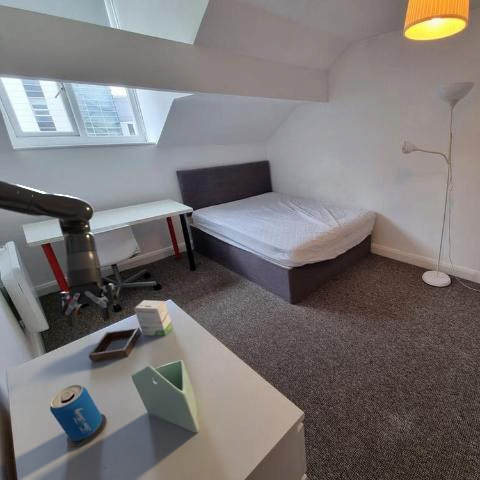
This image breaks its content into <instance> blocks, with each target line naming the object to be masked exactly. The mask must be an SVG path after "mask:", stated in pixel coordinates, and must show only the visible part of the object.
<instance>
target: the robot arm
mask: <svg viewBox="0 0 480 480" xmlns="http://www.w3.org/2000/svg"><path fill="white" fill-rule="evenodd" d="M0 210H4V211H8V212H12V213H16V214H22V215H27V216H30V217H50V218H55V219H58V224H59V228H60V232H61V235H62V238H63V249H64V266H65V271H66V272H65V273H66V282H67V286H68V288H69V291H62V292H57V293H56V305H57V314H58V315H61V314H62V315H66V319H67V325H68V327H70V328H71V329H72V328H77V327H79V325H80V324H79V323H80V322H79V317H78V313H77V311H78V310H79V309H80V307H81V306H82V305H85V304H91V303H95V304H98V305H99V306H100V307H101V311H102V319H103V322H109V321H111V320H112V318H113V310H112V307H113V306H114V305H115V304H118V303H119V298H118V293H117V288H116V284H115V283H108V284H106V285H103V276H102V269H101V262H100V257H99V254H98V249H97V243H96V238H95V235H94V234H93V233H92V231H91V223H90V220H92V219H93V217H94V214H95V211H94V208H93V206H92V205H91V204H90V203H89V202H87V200H86V201H85V200H84V199H80V198H78V197H73V196H69V195H63V194H57V193H49V192H44V191H40V190H38V189H34V188H31V187H26V186H23V185H19V184H14V183H11V182H8V181H4V180H0ZM104 292H105V293H106V296H107V297H106V296H105V294H103V293H104ZM70 298H71V301H69V299H70Z"/></svg>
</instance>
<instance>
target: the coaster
mask: <svg viewBox="0 0 480 480" xmlns="http://www.w3.org/2000/svg"><path fill="white" fill-rule="evenodd" d="M100 414H101V415H102V421H101V423H100V425H99V427H98V428H97V429H96V430H95V431H94V432H93V433H92V434H90V435H89V436H87V437H85V438H83V439H81V440H76V441H73V440H71V439H70V438H69V437H68V436H67V439H66V442H67V444H68V445H69V446H70V447H72V448H79V447H83V446H85V445H87V444H89V443H91V442H92V441H94V440H95V439H96V438H97V437H99V435H100V434H102V432H103V431H104V430H105V428H106V426H107V422H108V419H107V416H106V415H105V414H103V413H100Z"/></svg>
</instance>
